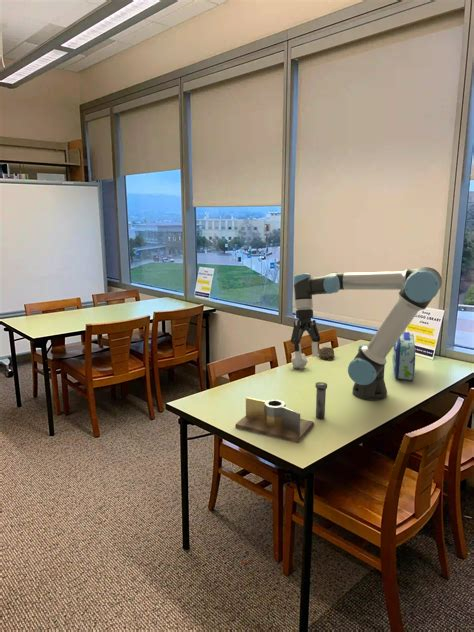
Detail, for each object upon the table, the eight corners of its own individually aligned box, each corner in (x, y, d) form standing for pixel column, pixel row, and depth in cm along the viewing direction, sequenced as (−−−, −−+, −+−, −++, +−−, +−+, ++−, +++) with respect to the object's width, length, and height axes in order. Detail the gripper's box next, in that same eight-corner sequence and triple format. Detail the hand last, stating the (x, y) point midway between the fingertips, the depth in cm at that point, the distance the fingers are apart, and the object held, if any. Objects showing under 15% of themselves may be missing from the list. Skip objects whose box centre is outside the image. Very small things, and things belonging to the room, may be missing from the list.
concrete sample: (319, 353, 266) (319, 345, 265) (336, 355, 262) (336, 347, 261) (315, 359, 255) (315, 350, 254) (332, 361, 252) (333, 352, 250)
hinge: (307, 425, 170) (307, 405, 168) (299, 434, 163) (299, 414, 161) (250, 412, 182) (250, 394, 180) (240, 420, 174) (240, 401, 173)
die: (298, 372, 235) (309, 358, 234) (286, 362, 238) (296, 348, 237) (301, 373, 243) (312, 359, 242) (289, 363, 246) (299, 349, 245)
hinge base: (313, 425, 174) (313, 421, 173) (298, 442, 160) (298, 439, 160) (254, 412, 186) (254, 408, 186) (235, 427, 172) (235, 423, 172)
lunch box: (391, 365, 243) (394, 328, 239) (412, 367, 240) (415, 329, 235) (391, 381, 219) (394, 340, 215) (415, 384, 216) (418, 342, 211)
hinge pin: (327, 416, 181) (328, 383, 178) (323, 420, 177) (325, 387, 174) (316, 414, 183) (317, 381, 180) (312, 418, 180) (313, 385, 176)
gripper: (312, 309, 207) (314, 355, 206) (280, 310, 188) (283, 360, 187) (326, 308, 202) (329, 355, 201) (295, 308, 183) (298, 360, 182)
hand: (307, 357), depth 194 cm, fingers open, 13 cm apart
